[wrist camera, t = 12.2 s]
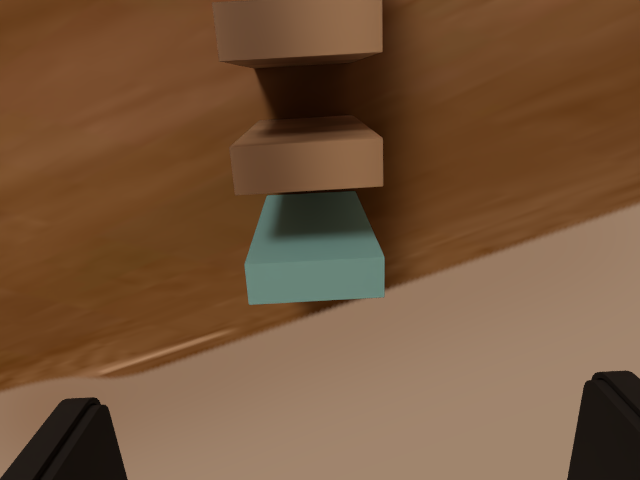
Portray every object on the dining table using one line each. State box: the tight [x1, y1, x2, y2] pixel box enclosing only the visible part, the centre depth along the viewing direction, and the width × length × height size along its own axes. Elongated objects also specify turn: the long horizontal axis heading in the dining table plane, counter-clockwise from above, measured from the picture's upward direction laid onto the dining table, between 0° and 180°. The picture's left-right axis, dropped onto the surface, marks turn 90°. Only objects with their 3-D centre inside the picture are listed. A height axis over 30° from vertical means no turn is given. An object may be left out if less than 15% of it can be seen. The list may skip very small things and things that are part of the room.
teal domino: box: [245, 191, 385, 305], centre depth 21 cm, size 5×2×10 cm, turn 93°
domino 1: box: [212, 0, 383, 68], centre depth 18 cm, size 5×2×10 cm, turn 93°
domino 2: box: [229, 115, 383, 195], centre depth 20 cm, size 5×2×10 cm, turn 93°
